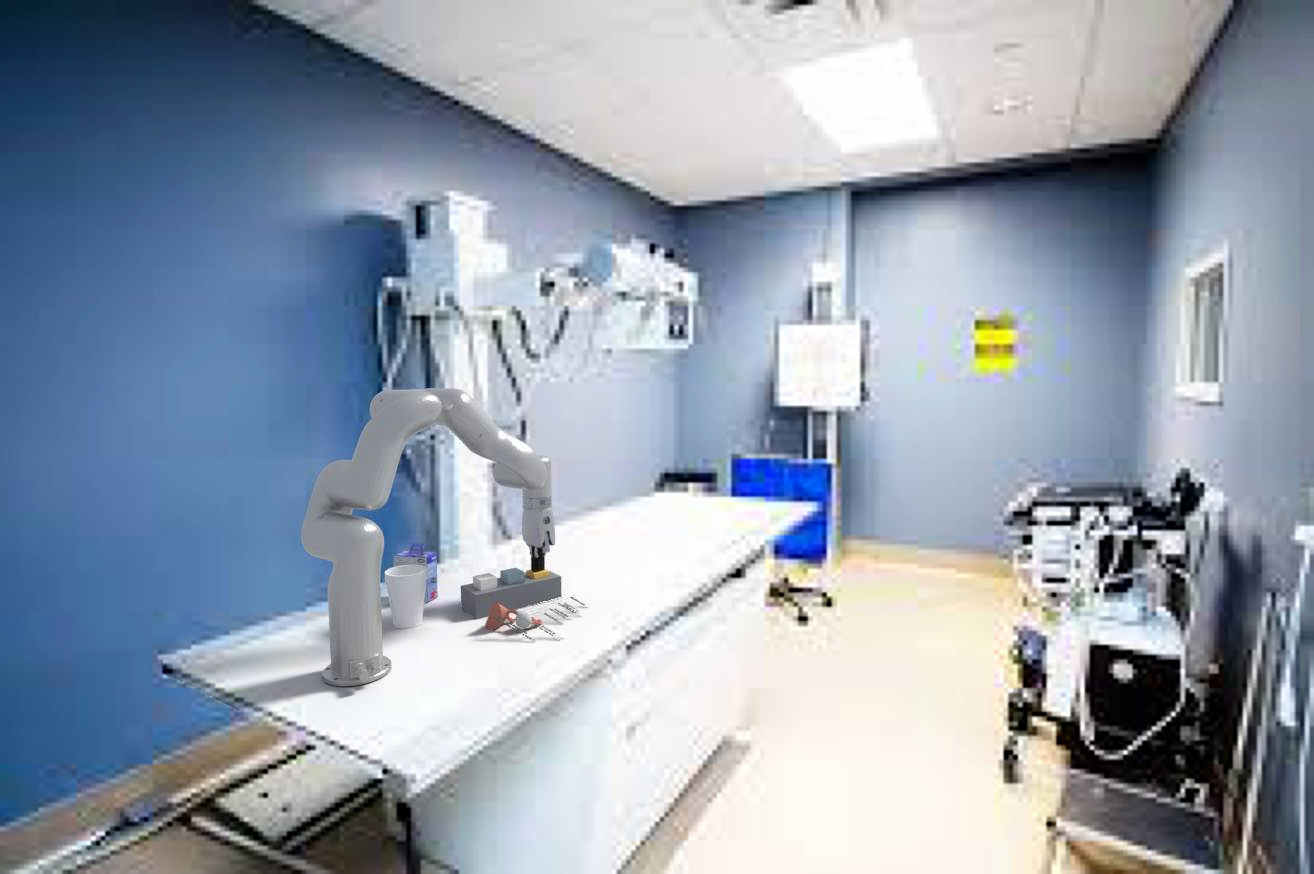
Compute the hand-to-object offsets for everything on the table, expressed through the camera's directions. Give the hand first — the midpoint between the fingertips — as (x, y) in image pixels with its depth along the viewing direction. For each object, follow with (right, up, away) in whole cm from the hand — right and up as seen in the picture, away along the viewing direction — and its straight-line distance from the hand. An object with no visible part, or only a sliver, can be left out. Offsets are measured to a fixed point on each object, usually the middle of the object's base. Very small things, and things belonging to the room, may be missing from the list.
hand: (537, 570), depth 179 cm
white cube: (-12, -4, -9) cm, 15 cm away
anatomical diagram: (+5, -10, -16) cm, 20 cm away
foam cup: (-28, -9, -18) cm, 35 cm away
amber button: (0, -4, 0) cm, 4 cm away
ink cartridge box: (-32, -8, -1) cm, 33 cm away
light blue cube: (-6, -3, -5) cm, 8 cm away
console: (-6, -8, -4) cm, 11 cm away
